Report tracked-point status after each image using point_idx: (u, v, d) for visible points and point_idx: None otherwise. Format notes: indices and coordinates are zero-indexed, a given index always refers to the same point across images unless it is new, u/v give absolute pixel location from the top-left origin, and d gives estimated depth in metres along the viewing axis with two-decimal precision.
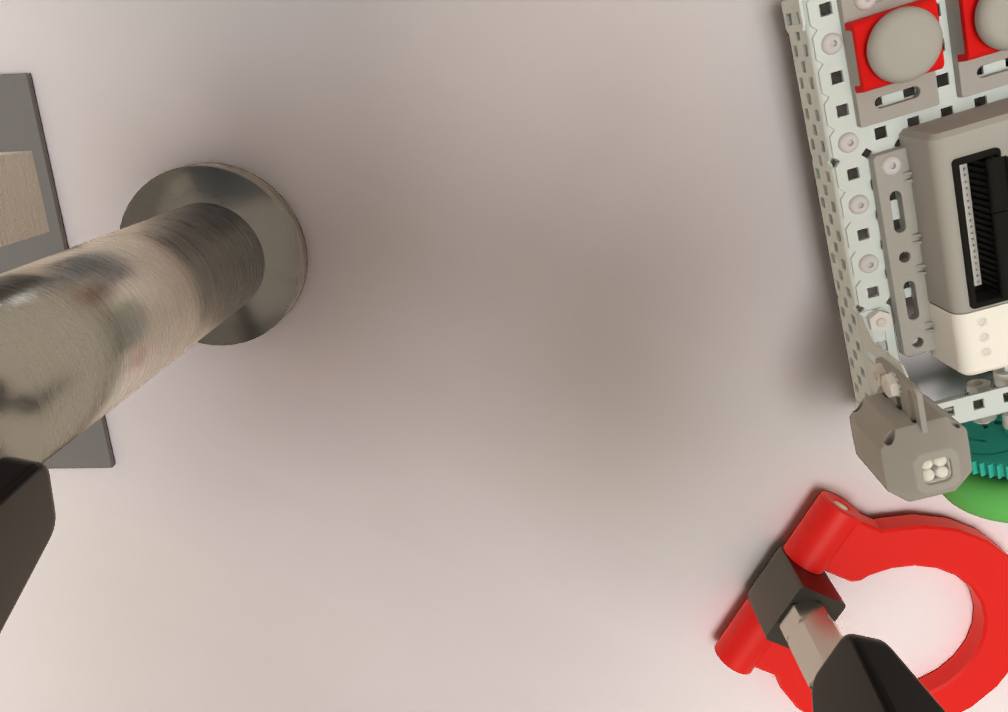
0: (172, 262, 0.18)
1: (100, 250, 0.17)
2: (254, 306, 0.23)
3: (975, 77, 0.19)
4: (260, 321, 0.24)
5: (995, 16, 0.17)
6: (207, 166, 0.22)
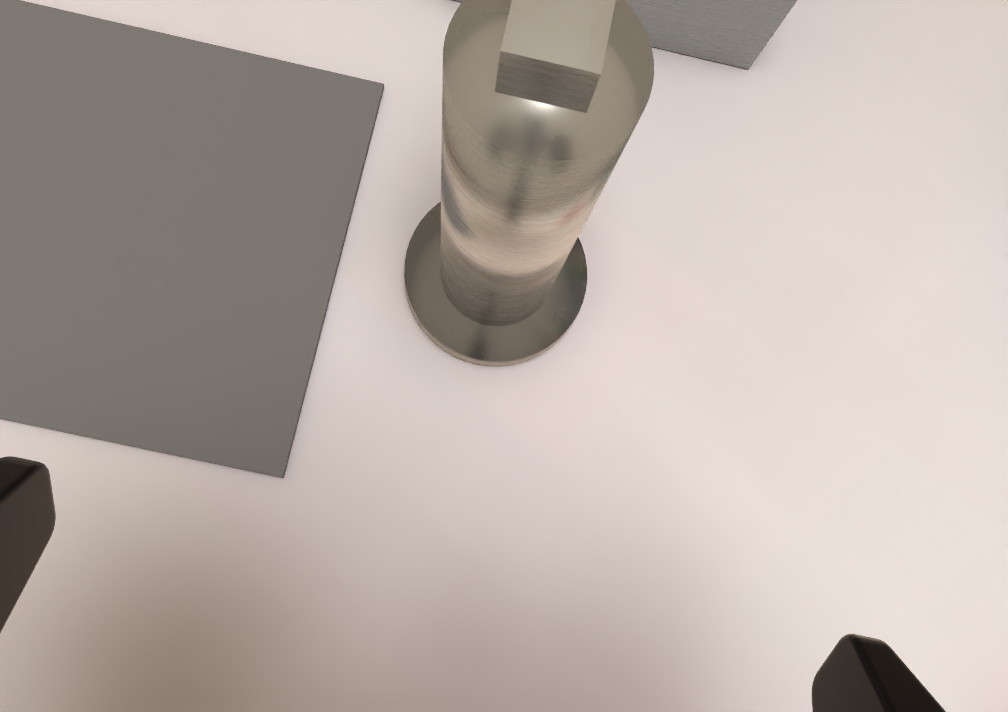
0: None
1: None
2: (524, 327, 0.23)
3: None
4: (525, 344, 0.23)
5: None
6: None
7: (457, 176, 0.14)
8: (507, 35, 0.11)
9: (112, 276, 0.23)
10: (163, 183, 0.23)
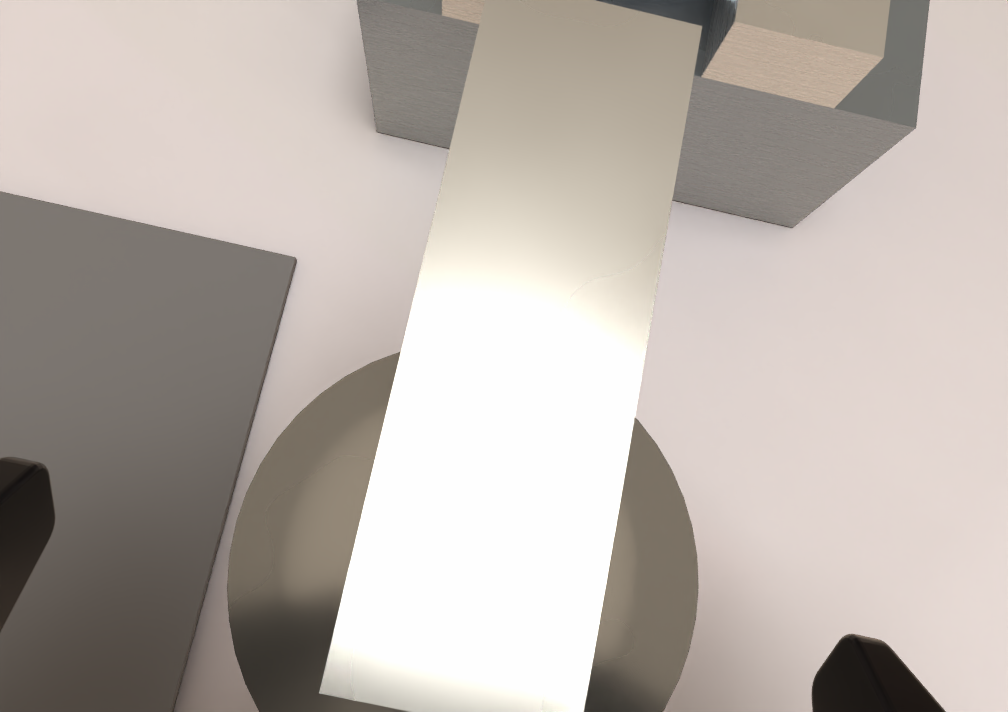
0: None
1: None
2: None
3: None
4: None
5: None
6: None
7: None
8: (338, 651, 0.04)
9: None
10: None
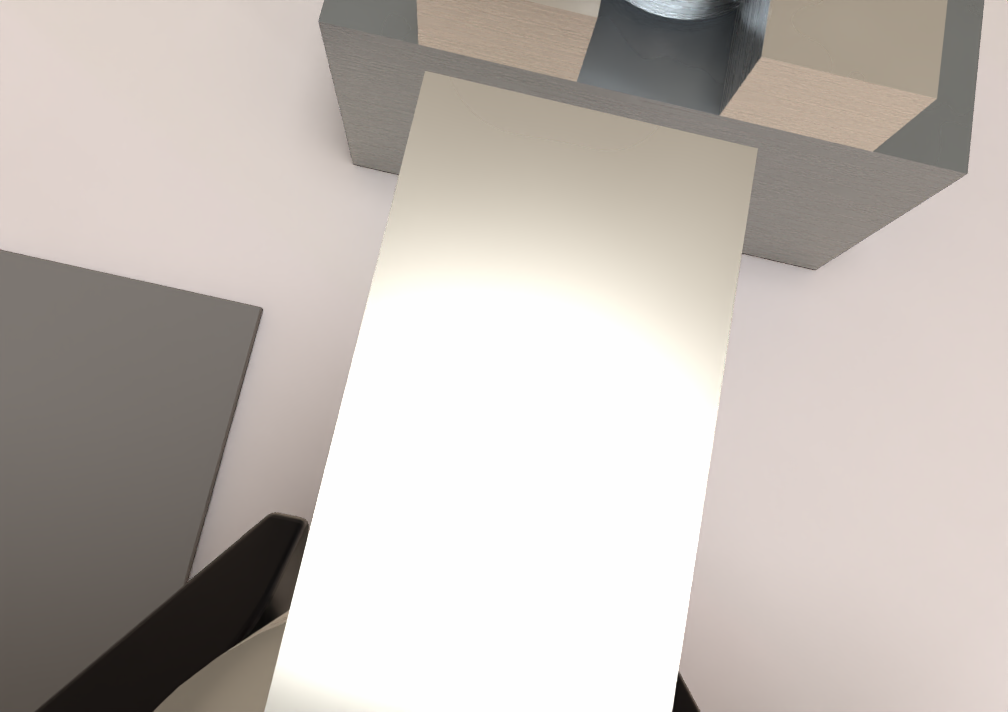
0: None
1: None
2: None
3: None
4: None
5: None
6: None
7: None
8: None
9: None
10: None
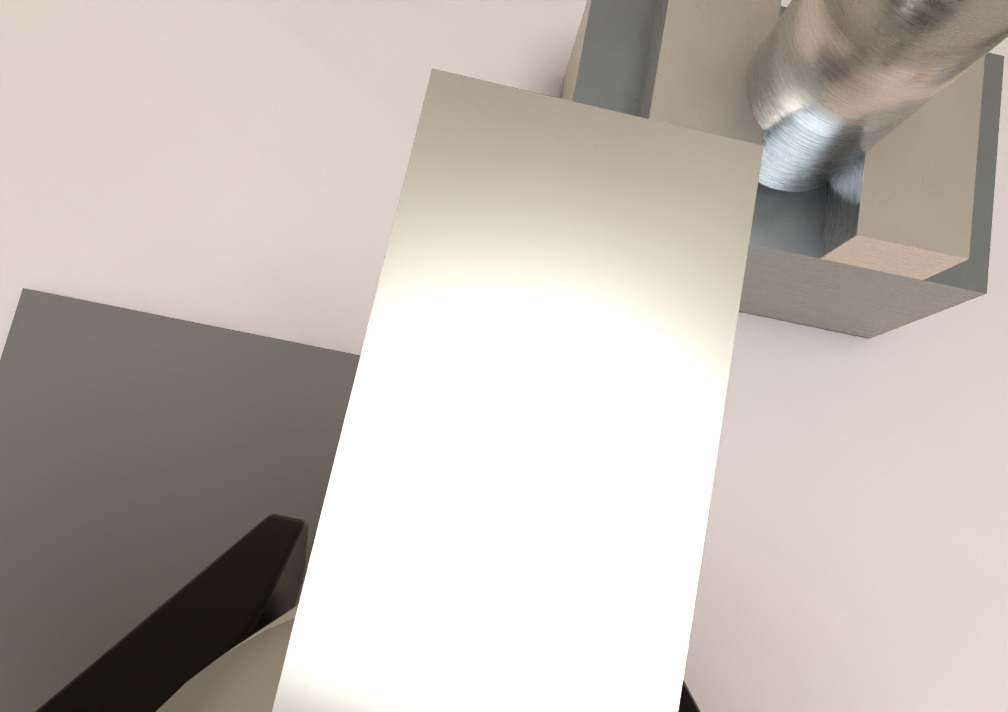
0: None
1: None
2: None
3: None
4: None
5: None
6: None
7: None
8: None
9: None
10: (229, 509, 0.21)
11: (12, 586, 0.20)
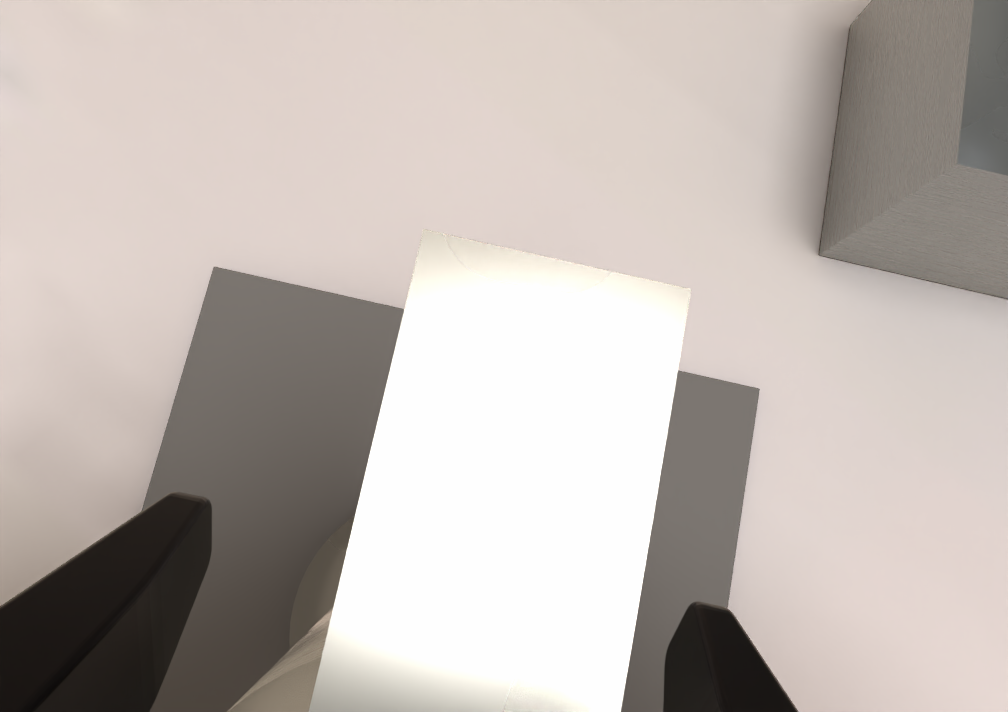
0: None
1: None
2: None
3: None
4: None
5: None
6: None
7: None
8: None
9: None
10: None
11: (207, 642, 0.16)
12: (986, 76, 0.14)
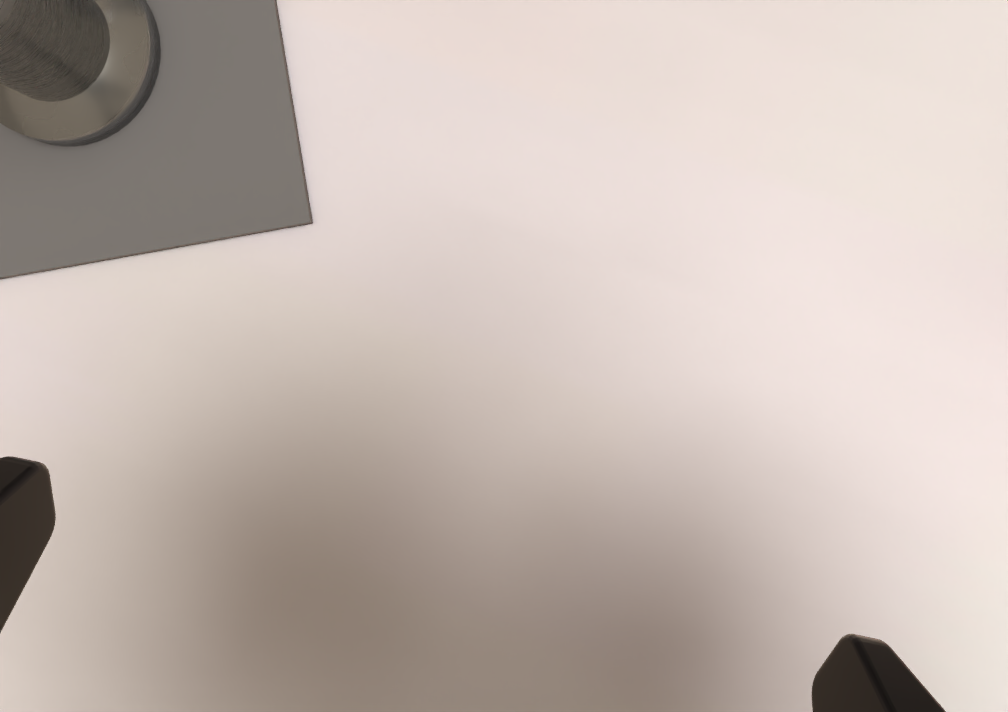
0: None
1: None
2: (100, 86, 0.22)
3: None
4: (107, 102, 0.22)
5: None
6: None
7: None
8: None
9: None
10: None
11: None
12: None
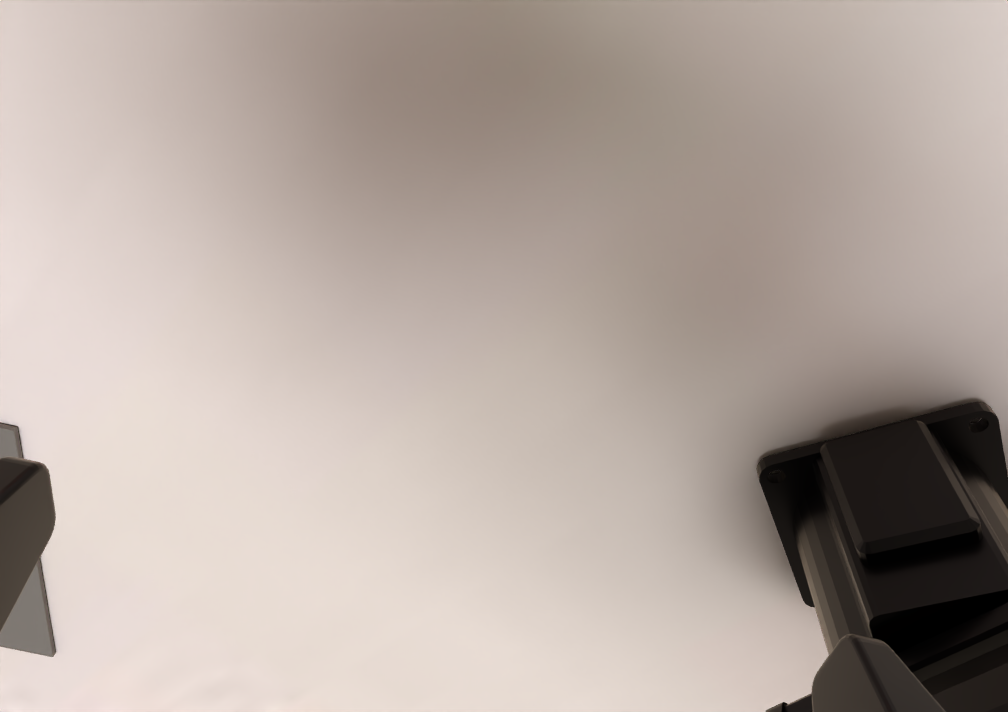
0: None
1: None
2: None
3: None
4: None
5: None
6: None
7: None
8: None
9: None
10: None
11: None
12: None
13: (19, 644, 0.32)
